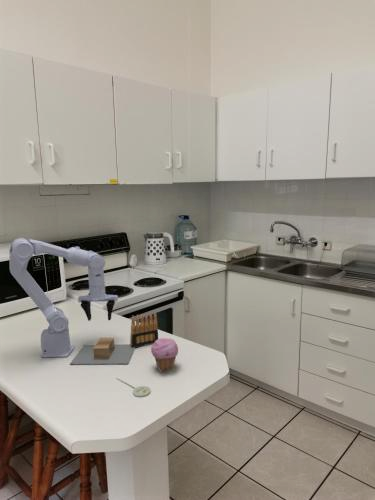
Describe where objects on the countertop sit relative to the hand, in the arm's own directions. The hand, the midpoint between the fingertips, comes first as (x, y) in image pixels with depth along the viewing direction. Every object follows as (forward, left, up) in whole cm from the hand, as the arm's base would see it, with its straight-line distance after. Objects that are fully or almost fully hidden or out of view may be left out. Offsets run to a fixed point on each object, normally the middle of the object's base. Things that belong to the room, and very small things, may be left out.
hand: (99, 319), depth 142 cm
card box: (+4, -10, -9) cm, 14 cm away
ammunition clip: (+17, -2, -9) cm, 19 cm away
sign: (+18, -31, -10) cm, 37 cm away
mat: (+4, -10, -9) cm, 14 cm away
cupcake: (+27, -20, -10) cm, 35 cm away
